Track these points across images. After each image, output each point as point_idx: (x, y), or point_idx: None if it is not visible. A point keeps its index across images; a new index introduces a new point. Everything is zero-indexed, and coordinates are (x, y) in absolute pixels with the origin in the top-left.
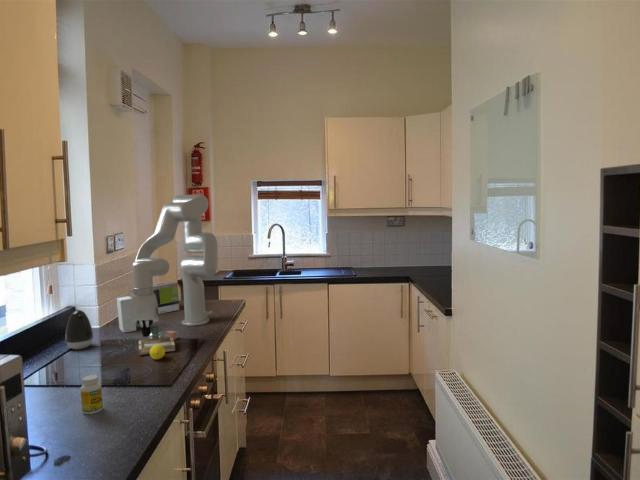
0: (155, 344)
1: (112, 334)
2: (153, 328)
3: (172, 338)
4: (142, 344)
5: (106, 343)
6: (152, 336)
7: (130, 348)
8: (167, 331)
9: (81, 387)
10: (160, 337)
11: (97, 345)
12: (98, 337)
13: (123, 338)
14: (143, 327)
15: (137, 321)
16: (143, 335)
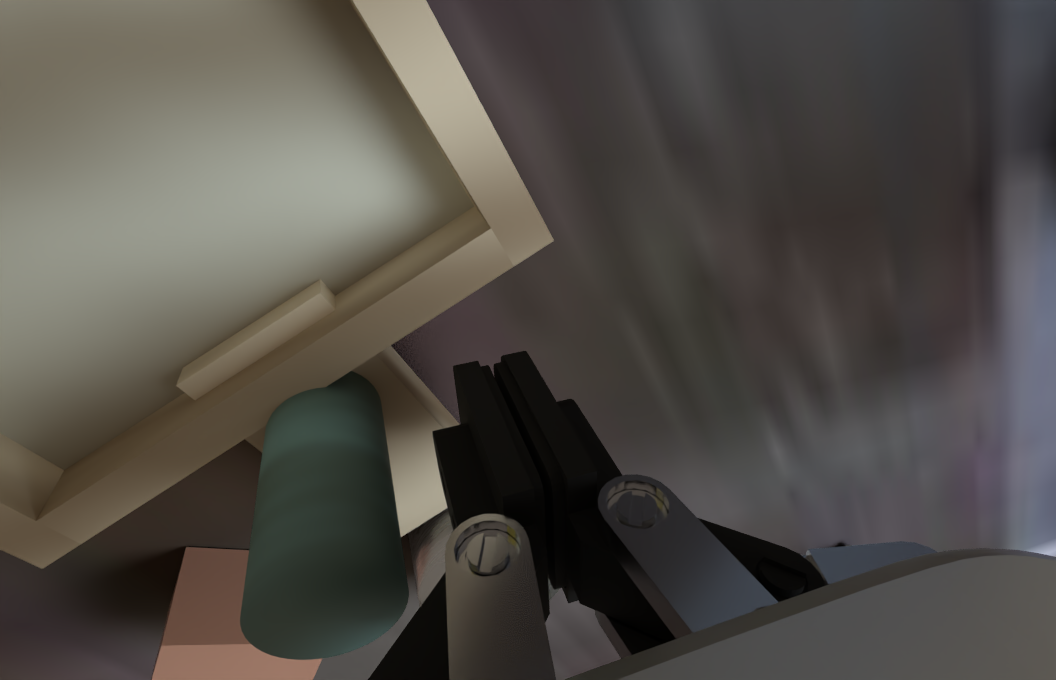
0: (171, 227)
1: (919, 490)
2: (315, 541)
3: None
4: (445, 191)
5: (948, 261)
6: (359, 412)
7: (608, 91)
8: (313, 661)
9: None
10: (411, 552)
11: (1030, 177)
12: (1016, 402)
13: (815, 436)
14: (569, 478)
15: (809, 580)
16: (520, 362)
